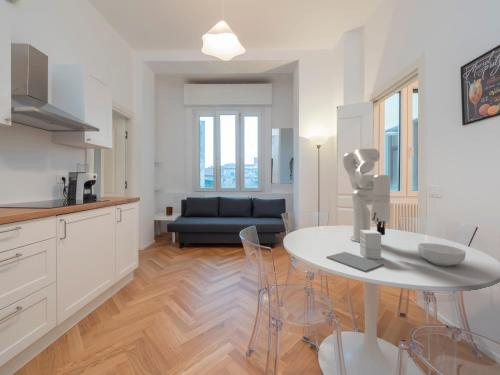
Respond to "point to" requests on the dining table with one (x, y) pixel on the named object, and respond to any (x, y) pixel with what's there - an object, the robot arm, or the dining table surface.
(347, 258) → the mat
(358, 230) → the robot arm
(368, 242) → the supplement box
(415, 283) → the dining table surface
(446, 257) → the cereal bowl
